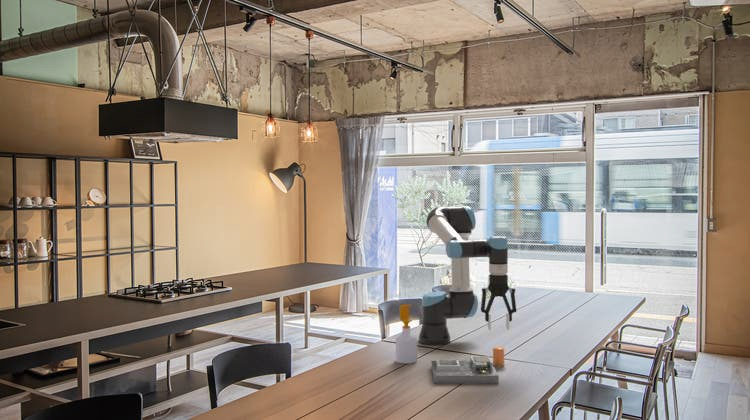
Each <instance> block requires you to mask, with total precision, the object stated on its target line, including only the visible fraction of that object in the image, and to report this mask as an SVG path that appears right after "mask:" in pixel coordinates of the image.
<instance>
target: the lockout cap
mask: <svg viewBox="0 0 750 420" xmlns="http://www.w3.org/2000/svg"><path fill="white" fill-rule="evenodd" d="M492 363H493V365H494V367H496V366H503V367H505V347H501V346H495V347H493V348H492Z"/></svg>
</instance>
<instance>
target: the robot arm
mask: <svg viewBox="0 0 750 420" xmlns="http://www.w3.org/2000/svg"><path fill="white" fill-rule="evenodd" d="M425 220H426V222H425V224H426V226H427V228H428V230H429V231H430V232H431V233H434V234H435V235H437V238H439V240H441V241H442V242H443V243H444V245H445V253H446V256H447V257H448V258H449V259H451V260H450V261H451V262H450V263H451V264H450V265H451V287H450V289H448V294H447V292H446V291H445V290H440V291H439V290H438V291H430V292H427V293H425V294H423V295H422V298H421V299H422V301H421V316H422V317H421V322H422V323H421V324H422V325H421V328H420V331H419V335H418V342H419V343H421V344H423V345H429V346H430V345H432V346H433V345H434V346H435V345H436V346H440V345H446V344H449V343H451V335H450V332H449V329H448V326H447V325H448V324H447V320H449V319H450V320H451V319H462V318H463V319H467V318H473V317H474V316H475V315H476V313H477V311H478V307H479V300H478V295H477V294H476V293H474V289H473V288H472V287H471V284H470V283H471V282H470V281H471V280H470V276H471V275H470V258H475V259H476V258H488V272H489V276H488V278H489V279H488V287H482V288H481V292H482V296H481V305H480V312H481V313H482V314H483V313H484V316H485V317H484V320H485V322H487V329H488V330H489V331H491V329H492V328H491V326H492V325H491V323H492V321H491V320H492V319H491V313H490V310H491V308H492V305H493V303H494V300H495V298H497V297H500V298H502V300H503V302H504V305H505V307H506V310H507V312H506V314H505V315H506V316H505V317H506V318H505V321H506V324H505V325H506V327H505V328H506V330H507V331H510V322H512V321H513V313H517V306H516V305H517V303H516V296H515V293H516V289H515V288H514V287H510V286H509V285H508V284H509V283H508V281H509V280H508V279H509V277H508V270H509V269H508V267H509V265H508V264H509V263H508V261H509V260H508V259H509V258H508V255H509V252H508V251H509V250H508V249H509V244H508V238H507V236H503V235H502V236H501V235H493V236H490V237H489V238H482V239H469V237H470V236H471V235H472V231H473V230H475V228H476V225H477V221H476V220H477V219H476V216H475V213H474V210H473V209H472V208H471V207H470V206H467V205H450V206H445V205H444V206H442V205H441V206H436V207H434V208H432V209H431V210H430V211H429V212H428V214H427V216H426V219H425ZM488 291H489V293H491V294H490V296H489V299H488V302H487V304H486V301H487V293H488ZM508 291H509V293H510V301H511V306H510V303H509V300H508V298H507V293H508Z"/></svg>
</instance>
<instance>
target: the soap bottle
mask: <svg viewBox="0 0 750 420" xmlns="http://www.w3.org/2000/svg"><path fill="white" fill-rule="evenodd" d="M411 306H412V304H402V305H400V306H399V320H400V321H401V322H402V323H403V324H404V325H403V326H401V327H402V331H401V332H400V333H398V334H397V335H396V337H395V361H396V363H399V364H404V365H405V364H406V365H408V364H409V365H410V364H415V363H417V362H418V337H417V335H416V334H415V333H413V332H411V326H410V325H409V324H410V322H412V321H413V320H412V319H411V318H410V307H411Z"/></svg>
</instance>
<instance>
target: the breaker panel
mask: <svg viewBox="0 0 750 420" xmlns="http://www.w3.org/2000/svg"><path fill="white" fill-rule="evenodd" d="M430 364H431V373H432V377H433V382H434V384H441V385H442V384H451V385H452V384H453V385H454V384H459V385H460V384H462V385H463V384H466V385H467V384H469V385H470V384H471V385H472V384H473V385H474V384H475V383H476V384H477V383H478V384H479V383H480V384H482V385H484V384H485V383H492V384H493V383H497V384H498V385H499V384H500V383H499V380H500V379H499V377H500V376H499V374H498V372H497V370H496V368H495V366H493V360H492V359H491V357H490V356H489V362H487V363H475V361H474V359H473V355H469V360H459V359H436V360H431V363H430ZM497 384H496V385H497ZM493 385H494V384H493Z"/></svg>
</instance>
